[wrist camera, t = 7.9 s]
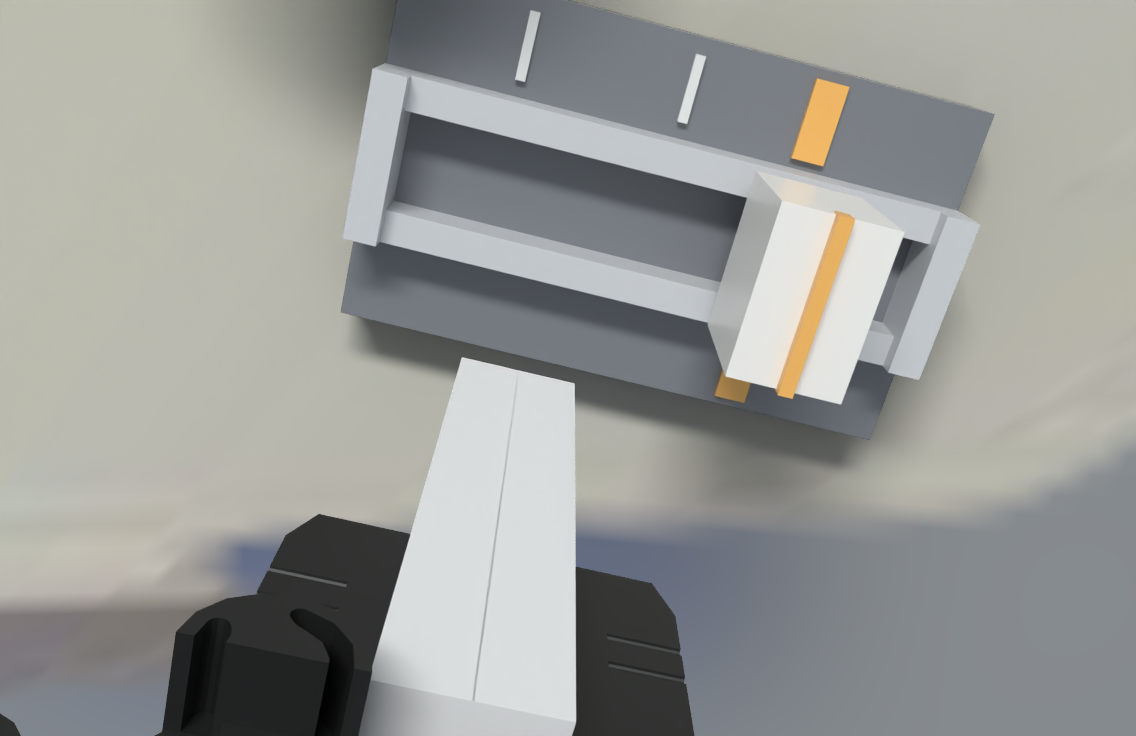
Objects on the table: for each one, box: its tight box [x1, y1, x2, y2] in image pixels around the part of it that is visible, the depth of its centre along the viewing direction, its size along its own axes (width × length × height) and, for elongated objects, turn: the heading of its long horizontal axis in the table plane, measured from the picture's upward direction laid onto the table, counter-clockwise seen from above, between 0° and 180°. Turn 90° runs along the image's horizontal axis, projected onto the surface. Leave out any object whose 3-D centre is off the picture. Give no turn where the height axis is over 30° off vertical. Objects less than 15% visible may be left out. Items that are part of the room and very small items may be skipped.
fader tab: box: [708, 171, 905, 404], centre depth 29 cm, size 3×5×6 cm, turn 166°
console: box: [341, 0, 995, 440], centre depth 32 cm, size 18×11×4 cm, turn 76°
